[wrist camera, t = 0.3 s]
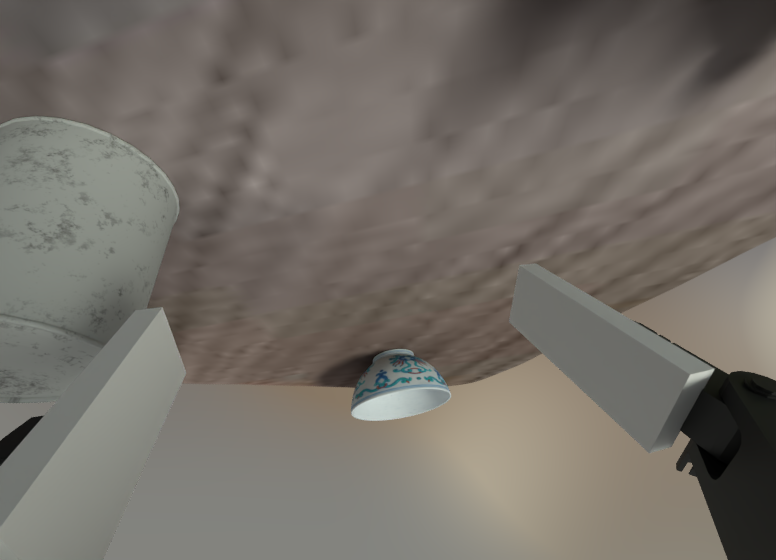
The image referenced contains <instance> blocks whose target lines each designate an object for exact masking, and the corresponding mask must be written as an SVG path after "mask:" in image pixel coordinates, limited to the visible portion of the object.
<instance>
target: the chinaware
mask: <svg viewBox="0 0 776 560" xmlns="http://www.w3.org/2000/svg"><path fill="white" fill-rule="evenodd" d="M450 398H451V393H450V390H449V388H448V386H447V384H446V383H445V381H444V379H443V378H442V376H441V375H440V374H439V373H438V371H437V370H436V369H435V368H434V367H433V366H431V365H430V364H429V363H427V362H426V361H424V360H422V359H420V358H418V357H415V356H414V354H413V352H412V351H410V350H407V349H393V350H388V351H385V352H382V353H380V354H378V355H377V356H375V357H374V359H373V364H372V365H371V366H370V367H369V368H368V369H367V370H366V371H365V372H364V373H363V375H362V376H361V378H360V379H359V381H358V383H357V385H356V388H355V391H354V394H353V399H352V406H351V414H352V416H353V417H355V418H357V419H361V420H371V421H372V420H373V421H376V420H377V421H378V420H391V419H398V418H404V417H409V416H413V415H417V414H420V413H424V412H427V411H430V410H432V409H434V408H437V407H439V406H441V405H443V404H444V403H446V402H447V401H448V400H449V399H450Z"/></svg>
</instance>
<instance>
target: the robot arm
mask: <svg viewBox="0 0 776 560" xmlns="http://www.w3.org/2000/svg"><path fill="white" fill-rule="evenodd" d="M509 322H510V323H511V324H512V325H513V326H514V327H515V328H516V329H517V330H518V331H519V332H520V333H522V334H523V335H524V336H525V337H526V338H527V339H528V340H529V341H530V342H531V343H532V344H533V345H534V346H535V347H536V348H538V349H539V350H540V351H541V352H542V353H543V354H544V355H545V356H546V357H547V358H548V359H549V360H550V361H551V362H552V363H554V364H555V365H556V366H557V367H558V368H559V369H560V370H561V371H562V372H563V373H564V374H565V375H566V376H567V377H569V378H570V379H571V380H572V381H573V382H574V383H575V384H576V385H577V386H578V387H579V388H580V389H581V390H582V391H583V392H584V393H586V394H587V395H588V396H589V397H590V398H591V399H592V400H593V401H594V402H595V403H596V404H597V405H599V407H601V408H602V409H603V410H604V411H605V412H606V413H607V414H608V415H609V416H610V417H611V418H612V419H613V420H614V421H615V422H616V423H618V424H619V425H620V426H621V427H622V428H623V429H624V430H625V431H626V432H627V433H628V434H629V435H630V436H631V437H632V438H634V439H635V440H636V441H637V442H638V443H639V444H640V445H641V446H642V447H643V448H644V449H645V450H646V451H647V452H648V453H652V452H655V451H658V450H662V449H665V448H669V447H671V446H672V445H673V443H674V441H675V439H676V437H677V436H678V434H679V432H680V431H682V432H683V433H684V434H685V435H687V436H688V437H689V438H691V439H690V441H689V443H688V445H687V446H686V448H685V450H684V452H683V453H682V455H681V456H680V458H679V460H678V461H677V463H676V469H677V470H678V471H682V470H683V469H684V467H685V466H686V464H687V462H691V463H692V465H693V467H692V469H691V470H690V472H689V474H690V475H693V476H696V477H697V478H698V481H699V483H700V486H701V489H702V491H703V494H704V497H705V499H706V502H707V505H708V508H709V510H710V513H711V516H712V518H713V521H714V524H715V526H716V529H717V532H718V534H719V537H720V540H721V542H722V545H723V548H724V551H725V553H726V555H727V559H728V560H776V381H775V380H773V379H770V378H768V377H765V376H761V375H758V374H755V373H751V372H743V371H737V372H731V373H730V374H727V373H725V372H723V371H721V370H720V369H718V368H716V367H715V366H713V365H711V364H710V363H708V362H706V361H704V360H703V359H701V358H699V357H697V356H696V355H694V354H692V353H691V352H689V351H687V350H685V349H684V348H682V347H680V346H679V345H677V344H675V343H671V342H670V340H668V339H667V338H665V337H663V336H661V335H657V333H656V332H655V331H653V330H651V329H649V328H648V327H646V326H644V325H643V324H641V323H638V322H636V321H633V320H631V319H629V318H627V317H626V316H624V315H622V314H621V313H619V312H617V311H616V310H614V309H612V308H611V307H609V306H607V305H605V304H604V303H602V302H600V301H599V300H597V299H595V298H594V297H592V296H590V295H588V294H587V293H585V292H583V291H582V290H580V289H578V288H577V287H575V286H573V285H571V284H570V283H568V282H566V281H565V280H563V279H561V278H559V277H558V276H556V275H554V274H553V273H551V272H549V271H548V270H546V269H544V268H542V267H541V266H539V265H537V264H536V263H535V264H527V265H519V270H518V276H517V281H516V286H515V292H514V297H513V303H512V308H511V313H510V319H509ZM185 375H186V371H185V368H184V365H183V362H182V360H181V357H180V354H179V351H178V349H177V346H176V343H175V340H174V338H173V335H172V332H171V329H170V327H169V324H168V321H167V318H166V315H165V313H164V310H163V307H159V308H151V309H142V310H135V312H134V313H133V314H132V315H131V316H130V317H129V318H128V320H127V321H126V322H125V323H124V324H123V325H122V326H121V328H120V329H119V330H118V331H117V332H116V333H115V335H114V336H113V337H112V338H111V339H110V340H109V341H108V343H107V344H106V345H105V346H104V347H103V348H102V350H101V351H100V352H99V353H98V354H97V355H96V356H95V358H94V359H93V360H92V361H91V362H90V363H89V365H88V366H87V367H86V368H85V369H84V370H83V371H82V373H81V374H80V375H79V376H78V377H77V378H76V380H75V381H74V382H73V383H72V384H71V385H70V386H69V388H68V389H67V390H66V391H65V392H64V393H63V395H62V396H61V397H60V398H59V399H58V400H57V401H56V403H55V404H54V405H53V406H52V407H51V408H50V409H49V411H48V412H47V413H46V414H45V415H44V416H38V417H33V418H30V419H29V420H28V421H26V422H25V423H24V424H22V425H21V426H19V427H18V428H17V429H15V430H14V431H12V432H11V433H10V434H9V435H7V436H6V437H4V438H3V439H2V440H1V441H0V560H103V558H104V556H105V554H106V552H107V550H108V547H109V545H110V543H111V541H112V538H113V536H114V534H115V532H116V529H117V527H118V525H119V523H120V520H121V518H122V516H123V513H124V511H125V509H126V507H127V504H128V502H129V500H130V498H131V496H132V494H133V491H134V489H135V487H136V485H137V482H138V480H139V478H140V476H141V473H142V471H143V469H144V467H145V464H146V462H147V460H148V458H149V455H150V453H151V451H152V448H153V446H154V444H155V442H156V440H157V437H158V435H159V433H160V431H161V429H162V426H163V424H164V421H165V419H166V417H167V415H168V413H169V411H170V408H171V406H172V404H173V402H174V399H175V397H176V395H177V393H178V390H179V388H180V386H181V384H182V381H183V379H184V377H185Z"/></svg>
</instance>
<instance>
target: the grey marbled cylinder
mask: <svg viewBox="0 0 776 560" xmlns="http://www.w3.org/2000/svg"><path fill="white" fill-rule="evenodd" d="M179 210H180V209H179V198H178V196H177V193H176V191H175V188H174V186H173V184H172V183H171V181H170V180H169V179H168V177H167V176H166V174H165V173H164V172H163V171H162V170H161V169H160V168H159V167H158V166H157V165H156V164H155V163H154V162H153V161H152V160H151V159H150V158H149V157H147V156H146V155H145V154H143V153H142V152H141V151H139V150H138V149H136V148H135V147H134V146H132V145H130V144H129V143H127V142H125V141H123V140H121V139H120V138H118V137H116V136H114V135H112V134H110V133H108V132H105V131H103V130H100V129H98V128H95V127H92V126H90V125H87V124H84V123H80V122H76V121H72V120H68V119H64V118H56V117H45V116H31V117H22V118H15V119H12V120H10V121H7V122H5V123H2V124H0V403H33V402H34V403H37V402H54V401H57V400H58V399H59V398H60V397H61V396H62V395H63V393H64V392H65V391H66V390H67V389H68V388H69V386H70V385H71V384H72V383H73V382H74V381H75V380H76V378H77V377H78V376H79V375H80V374H81V373H82V371H83V370H84V369H85V368H86V367H87V366H88V365H89V363H90V362H91V361H92V360H93V359H94V358H95V356H96V355H97V354H98V353H99V352H100V351H101V350H102V348H103V347H104V346H105V345H106V344H107V343H108V341H109V340H110V339H111V338H112V337H113V336H114V335H115V333H116V332H117V331H118V330H119V329H120V328H121V326H122V325H123V324H124V323H125V322H126V321H127V320H128V318H129V317H130V316H131V315H132V314H133V313H134V312H135V310H142V309H147V306H148V302H149V299H150V296H151V293H152V290H153V287H154V284H155V281H156V277H157V274H158V271H159V268H160V265H161V262H162V259H163V256H164V252H165V249H166V246H167V243H168V240H169V237H170V234H171V231H172V228H173V224H174V223H175V222H176V220H177V217H178V214H179Z"/></svg>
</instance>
